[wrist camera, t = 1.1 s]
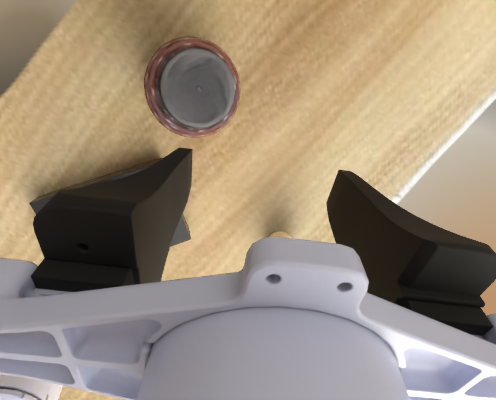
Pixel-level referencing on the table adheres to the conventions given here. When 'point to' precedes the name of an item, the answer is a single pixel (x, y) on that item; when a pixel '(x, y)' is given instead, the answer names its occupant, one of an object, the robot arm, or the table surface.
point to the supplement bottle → (192, 87)
